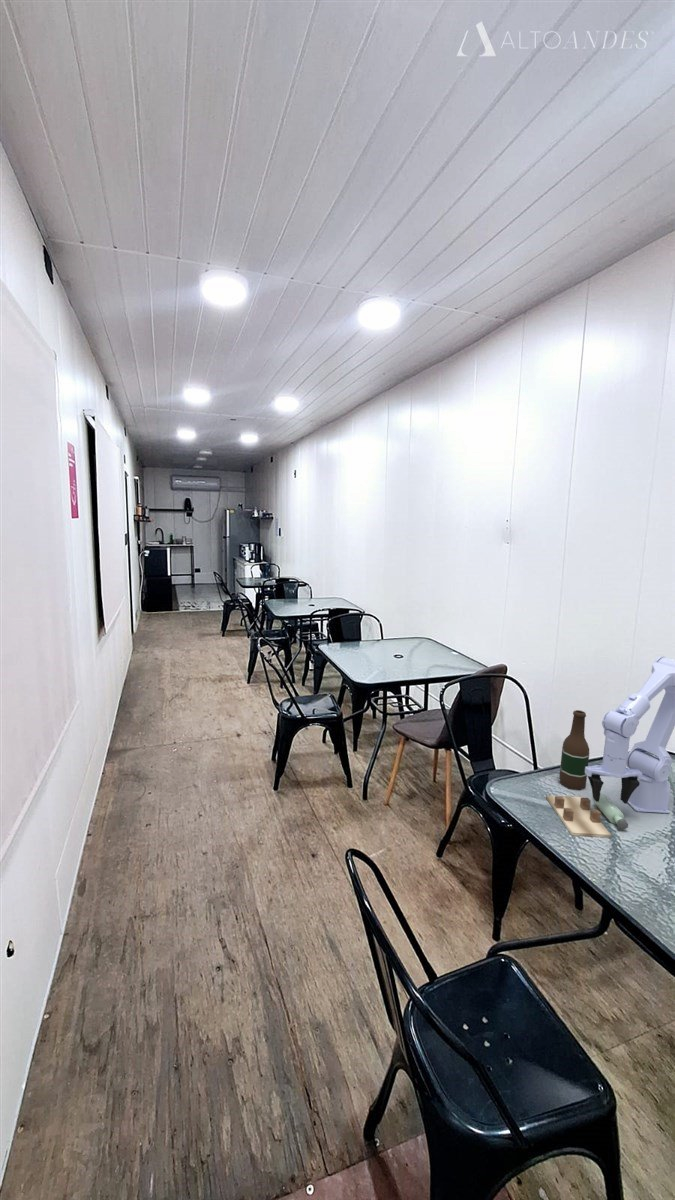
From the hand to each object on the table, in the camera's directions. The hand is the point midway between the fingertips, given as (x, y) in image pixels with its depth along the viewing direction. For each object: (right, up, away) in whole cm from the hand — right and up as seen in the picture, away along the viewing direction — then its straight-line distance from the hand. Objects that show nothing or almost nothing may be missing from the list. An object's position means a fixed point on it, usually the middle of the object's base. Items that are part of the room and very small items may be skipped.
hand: (609, 800), depth 134 cm
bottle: (0, -5, -1) cm, 5 cm away
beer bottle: (-2, -2, +17) cm, 17 cm away
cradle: (-10, -4, 0) cm, 11 cm away
